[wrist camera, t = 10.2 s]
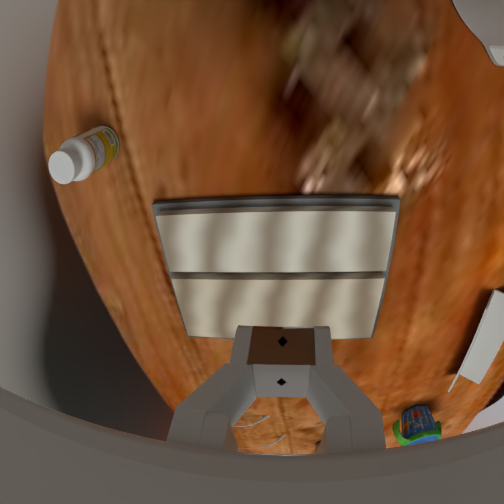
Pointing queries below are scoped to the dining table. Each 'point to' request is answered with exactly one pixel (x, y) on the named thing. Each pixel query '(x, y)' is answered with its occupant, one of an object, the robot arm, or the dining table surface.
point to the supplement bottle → (84, 155)
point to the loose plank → (279, 301)
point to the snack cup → (417, 427)
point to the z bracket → (485, 340)
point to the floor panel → (278, 235)
